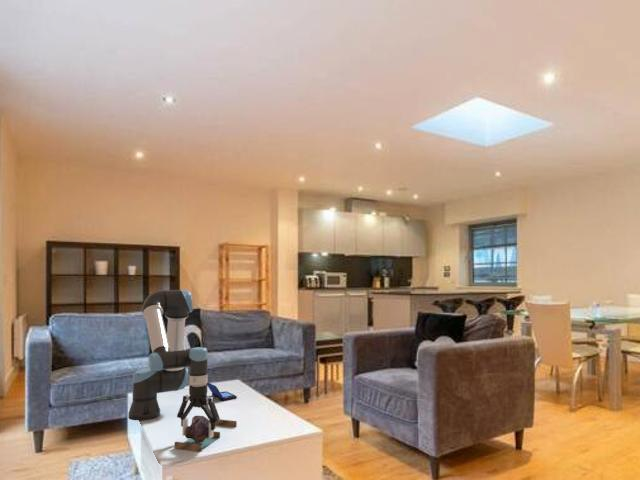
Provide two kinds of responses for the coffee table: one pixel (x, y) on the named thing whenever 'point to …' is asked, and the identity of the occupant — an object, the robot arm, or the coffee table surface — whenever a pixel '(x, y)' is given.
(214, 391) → the handheld game console
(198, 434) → the rock
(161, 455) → the coffee table surface
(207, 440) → the marked pad
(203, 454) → the coffee table surface
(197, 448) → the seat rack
